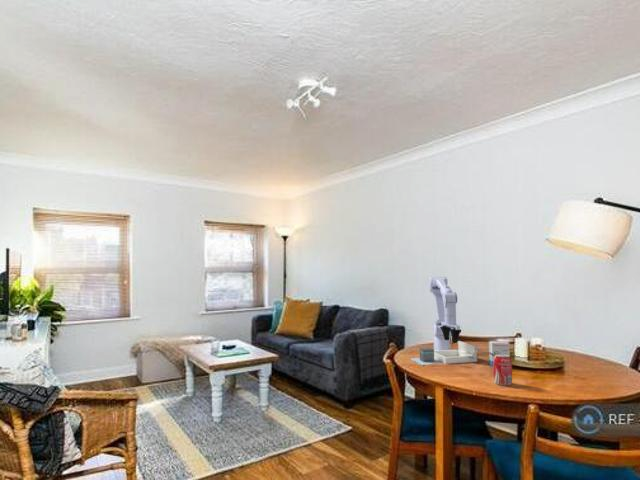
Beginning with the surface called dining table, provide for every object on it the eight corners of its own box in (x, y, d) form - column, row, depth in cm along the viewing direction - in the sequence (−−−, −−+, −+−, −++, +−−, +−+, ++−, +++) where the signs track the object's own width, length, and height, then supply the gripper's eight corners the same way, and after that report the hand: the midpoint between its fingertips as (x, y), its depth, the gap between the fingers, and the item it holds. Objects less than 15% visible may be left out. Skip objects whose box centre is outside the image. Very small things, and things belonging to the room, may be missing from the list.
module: (419, 360, 203) (419, 348, 204) (430, 359, 205) (430, 347, 205) (423, 362, 199) (423, 350, 200) (434, 361, 201) (434, 349, 201)
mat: (410, 359, 207) (410, 358, 207) (429, 358, 210) (429, 357, 210) (422, 365, 194) (422, 364, 194) (442, 364, 197) (442, 363, 197)
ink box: (492, 367, 192) (491, 342, 192) (488, 364, 197) (488, 340, 197) (510, 367, 191) (509, 343, 192) (506, 365, 196) (506, 341, 197)
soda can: (496, 380, 170) (495, 352, 171) (514, 383, 166) (513, 354, 166) (491, 384, 165) (491, 355, 166) (509, 387, 160) (509, 357, 161)
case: (430, 357, 211) (429, 342, 211) (459, 355, 215) (459, 340, 216) (447, 365, 194) (447, 349, 195) (479, 363, 199) (479, 347, 199)
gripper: (436, 313, 214) (436, 339, 213) (451, 317, 200) (451, 344, 199) (447, 313, 216) (448, 338, 215) (463, 317, 202) (464, 344, 201)
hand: (450, 341), depth 207 cm, fingers open, 7 cm apart
